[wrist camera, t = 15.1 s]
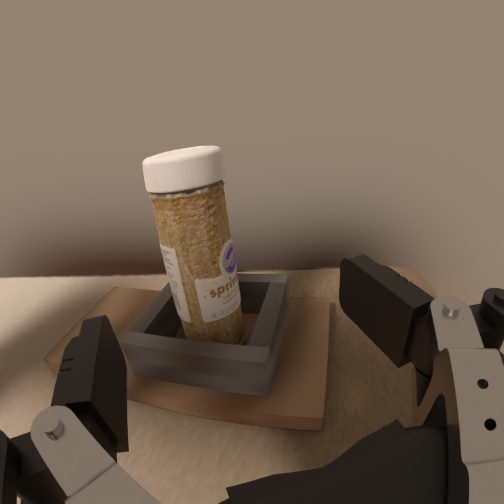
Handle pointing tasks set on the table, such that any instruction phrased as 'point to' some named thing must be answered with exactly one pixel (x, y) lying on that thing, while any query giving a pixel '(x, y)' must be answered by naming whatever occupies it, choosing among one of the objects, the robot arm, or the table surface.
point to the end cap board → (223, 355)
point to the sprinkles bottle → (197, 241)
